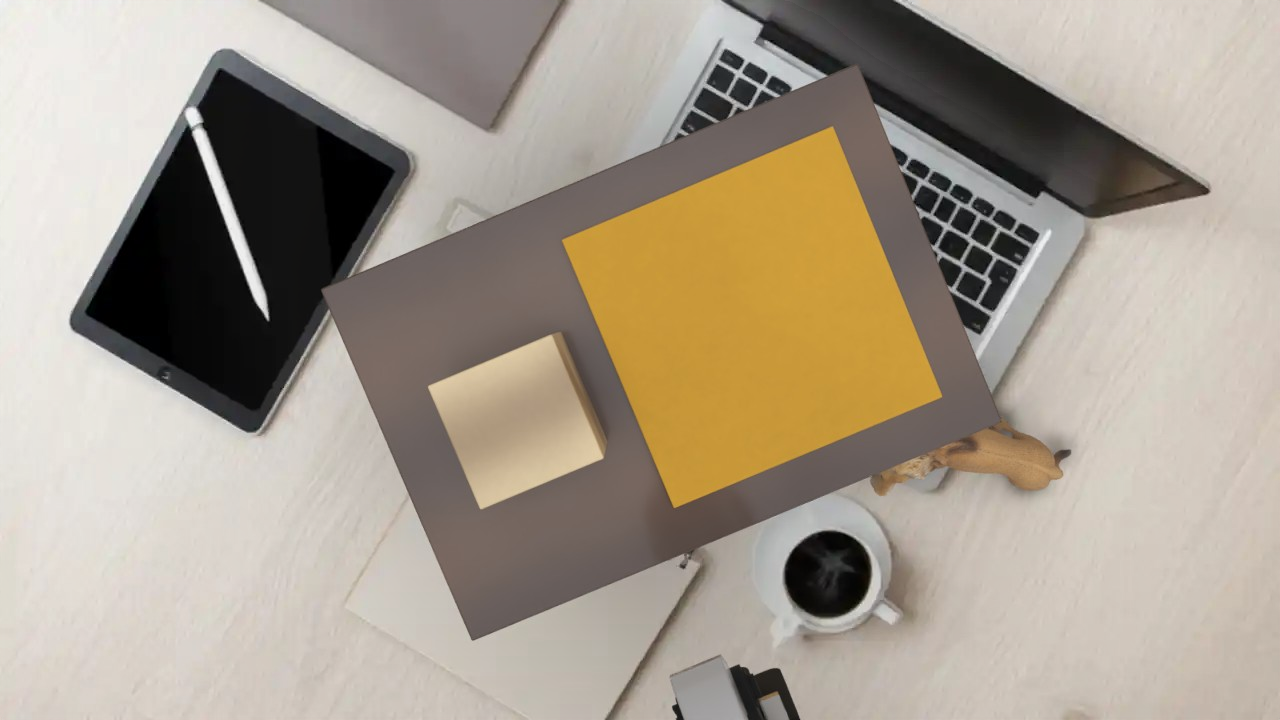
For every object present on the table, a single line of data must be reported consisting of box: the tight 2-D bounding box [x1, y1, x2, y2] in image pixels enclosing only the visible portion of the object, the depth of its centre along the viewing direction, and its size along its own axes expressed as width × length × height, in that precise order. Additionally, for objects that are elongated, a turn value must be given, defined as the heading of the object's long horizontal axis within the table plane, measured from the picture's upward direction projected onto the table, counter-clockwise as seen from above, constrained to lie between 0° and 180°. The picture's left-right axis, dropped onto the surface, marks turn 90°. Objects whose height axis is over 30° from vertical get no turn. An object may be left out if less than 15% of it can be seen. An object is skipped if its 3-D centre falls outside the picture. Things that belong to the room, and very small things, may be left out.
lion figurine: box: [869, 417, 1072, 497], centre depth 67 cm, size 15×5×9 cm, turn 87°
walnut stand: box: [320, 63, 1002, 642], centre depth 58 cm, size 16×24×26 cm, turn 113°
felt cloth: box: [562, 126, 942, 508], centre depth 45 cm, size 12×12×1 cm
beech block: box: [428, 332, 607, 509], centre depth 43 cm, size 5×5×5 cm
